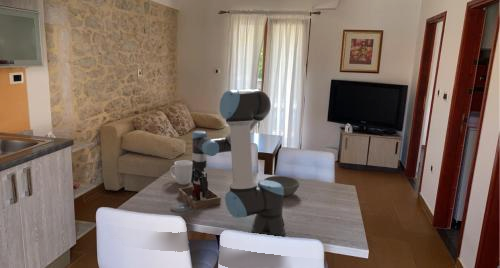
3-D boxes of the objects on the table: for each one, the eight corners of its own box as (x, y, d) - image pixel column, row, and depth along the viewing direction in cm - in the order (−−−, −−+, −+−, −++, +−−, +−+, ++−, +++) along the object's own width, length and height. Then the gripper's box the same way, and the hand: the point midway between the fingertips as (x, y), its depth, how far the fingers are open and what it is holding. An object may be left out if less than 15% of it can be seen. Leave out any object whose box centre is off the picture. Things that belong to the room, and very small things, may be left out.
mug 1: (165, 183, 219) (165, 162, 216) (175, 178, 229) (175, 158, 226) (187, 187, 214) (187, 166, 211) (195, 181, 224) (196, 161, 221)
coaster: (193, 209, 183) (193, 208, 183) (174, 213, 178) (174, 212, 178) (185, 202, 192) (185, 201, 191) (167, 206, 186) (167, 205, 186)
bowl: (279, 204, 195) (280, 190, 193) (254, 192, 210) (255, 179, 208) (305, 196, 208) (306, 183, 206) (280, 185, 223) (281, 173, 222)
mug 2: (200, 204, 190) (200, 187, 188) (187, 201, 193) (187, 184, 191) (210, 198, 199) (210, 181, 197) (198, 195, 203) (198, 178, 200)
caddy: (220, 204, 192) (220, 197, 191) (194, 209, 183) (194, 202, 183) (203, 190, 209) (203, 184, 208) (178, 195, 201) (178, 188, 200)
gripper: (215, 164, 185) (214, 205, 190) (197, 154, 202) (197, 191, 207) (201, 166, 181) (201, 208, 185) (184, 155, 198) (184, 193, 203)
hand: (199, 199), depth 196 cm, fingers open, 9 cm apart
